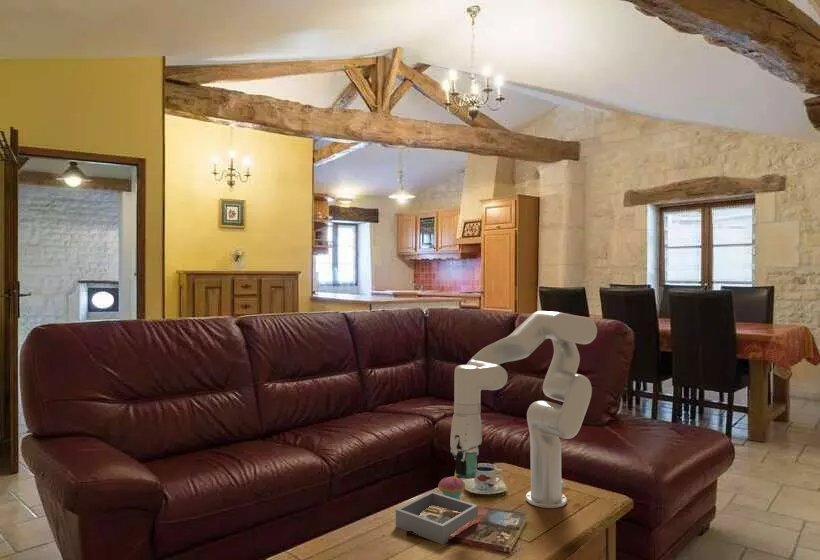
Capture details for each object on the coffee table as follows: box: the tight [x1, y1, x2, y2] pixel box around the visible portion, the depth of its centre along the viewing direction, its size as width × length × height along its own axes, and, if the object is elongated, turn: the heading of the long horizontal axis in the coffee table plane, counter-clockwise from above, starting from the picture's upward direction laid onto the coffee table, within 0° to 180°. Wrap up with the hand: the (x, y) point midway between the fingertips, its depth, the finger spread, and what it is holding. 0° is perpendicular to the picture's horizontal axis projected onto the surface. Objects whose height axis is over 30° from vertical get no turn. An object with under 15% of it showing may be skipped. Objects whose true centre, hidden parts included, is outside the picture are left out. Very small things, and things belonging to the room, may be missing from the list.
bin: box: [395, 491, 479, 546], centre depth 164 cm, size 17×17×5 cm
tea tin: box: [456, 447, 478, 480], centre depth 162 cm, size 6×6×8 cm
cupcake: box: [437, 468, 466, 500], centre depth 181 cm, size 9×8×12 cm
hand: (466, 470), depth 162 cm, fingers closed on tea tin, 5 cm apart
